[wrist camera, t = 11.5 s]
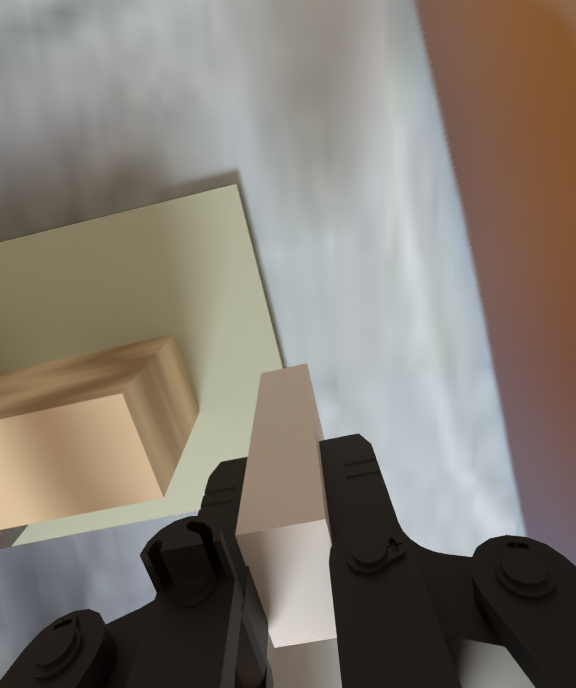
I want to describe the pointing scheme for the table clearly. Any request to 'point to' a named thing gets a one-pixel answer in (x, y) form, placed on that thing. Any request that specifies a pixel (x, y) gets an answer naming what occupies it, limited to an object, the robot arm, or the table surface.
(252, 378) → the sage board
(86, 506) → the pine slat
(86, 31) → the table surface
